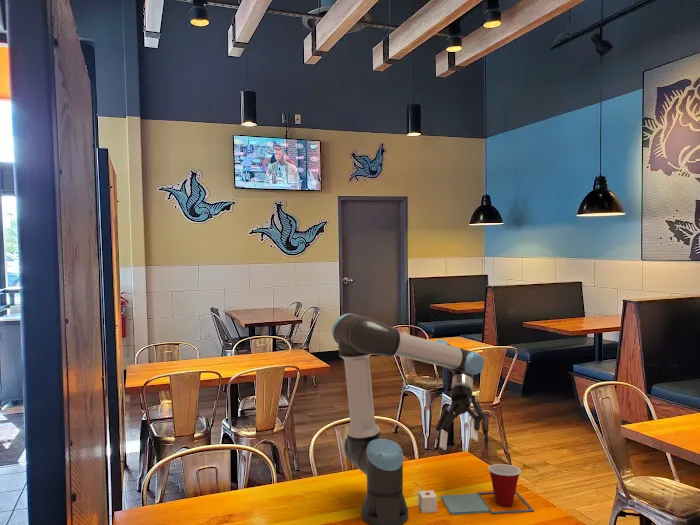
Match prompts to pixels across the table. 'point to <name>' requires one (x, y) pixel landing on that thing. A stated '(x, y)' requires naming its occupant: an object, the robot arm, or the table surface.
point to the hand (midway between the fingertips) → (458, 444)
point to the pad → (464, 504)
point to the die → (427, 501)
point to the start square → (506, 511)
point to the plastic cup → (504, 483)
